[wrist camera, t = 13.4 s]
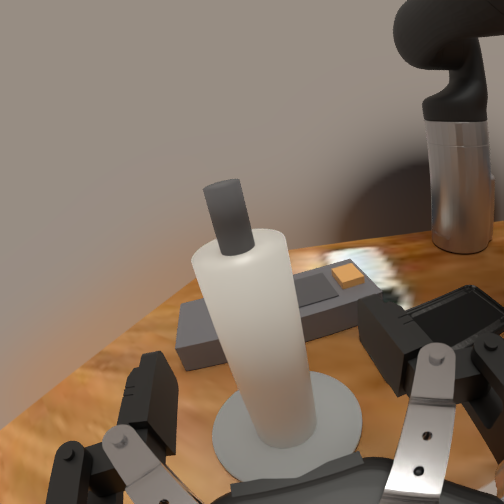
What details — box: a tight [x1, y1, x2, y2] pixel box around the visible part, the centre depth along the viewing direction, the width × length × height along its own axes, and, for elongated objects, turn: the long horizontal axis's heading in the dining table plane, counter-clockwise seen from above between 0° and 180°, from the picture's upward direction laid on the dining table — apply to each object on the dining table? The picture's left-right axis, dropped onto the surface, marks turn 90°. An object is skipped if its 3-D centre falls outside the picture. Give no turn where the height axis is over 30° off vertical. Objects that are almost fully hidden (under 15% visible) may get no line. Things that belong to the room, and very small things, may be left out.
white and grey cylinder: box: [191, 179, 317, 449], centre depth 16 cm, size 4×4×17 cm
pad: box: [212, 371, 362, 482], centre depth 20 cm, size 11×11×1 cm
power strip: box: [175, 259, 383, 371], centre depth 31 cm, size 20×8×4 cm, turn 98°
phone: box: [360, 285, 504, 384], centre depth 24 cm, size 8×1×15 cm
